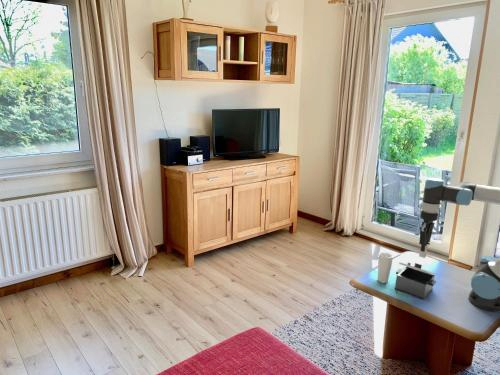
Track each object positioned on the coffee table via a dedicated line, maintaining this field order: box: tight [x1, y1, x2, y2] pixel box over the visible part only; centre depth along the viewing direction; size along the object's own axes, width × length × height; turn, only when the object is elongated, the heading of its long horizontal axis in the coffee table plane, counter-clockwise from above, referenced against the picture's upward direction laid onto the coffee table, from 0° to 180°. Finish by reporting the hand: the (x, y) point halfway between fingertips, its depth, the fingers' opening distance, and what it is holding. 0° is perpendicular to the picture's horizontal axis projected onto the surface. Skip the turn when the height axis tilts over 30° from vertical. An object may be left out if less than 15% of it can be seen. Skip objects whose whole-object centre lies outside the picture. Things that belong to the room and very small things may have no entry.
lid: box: [398, 262, 436, 275], centre depth 185 cm, size 14×14×3 cm
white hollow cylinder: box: [377, 252, 394, 284], centre depth 193 cm, size 7×7×15 cm
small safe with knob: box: [394, 266, 437, 301], centre depth 186 cm, size 18×14×8 cm
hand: (422, 256), depth 179 cm, fingers closed
